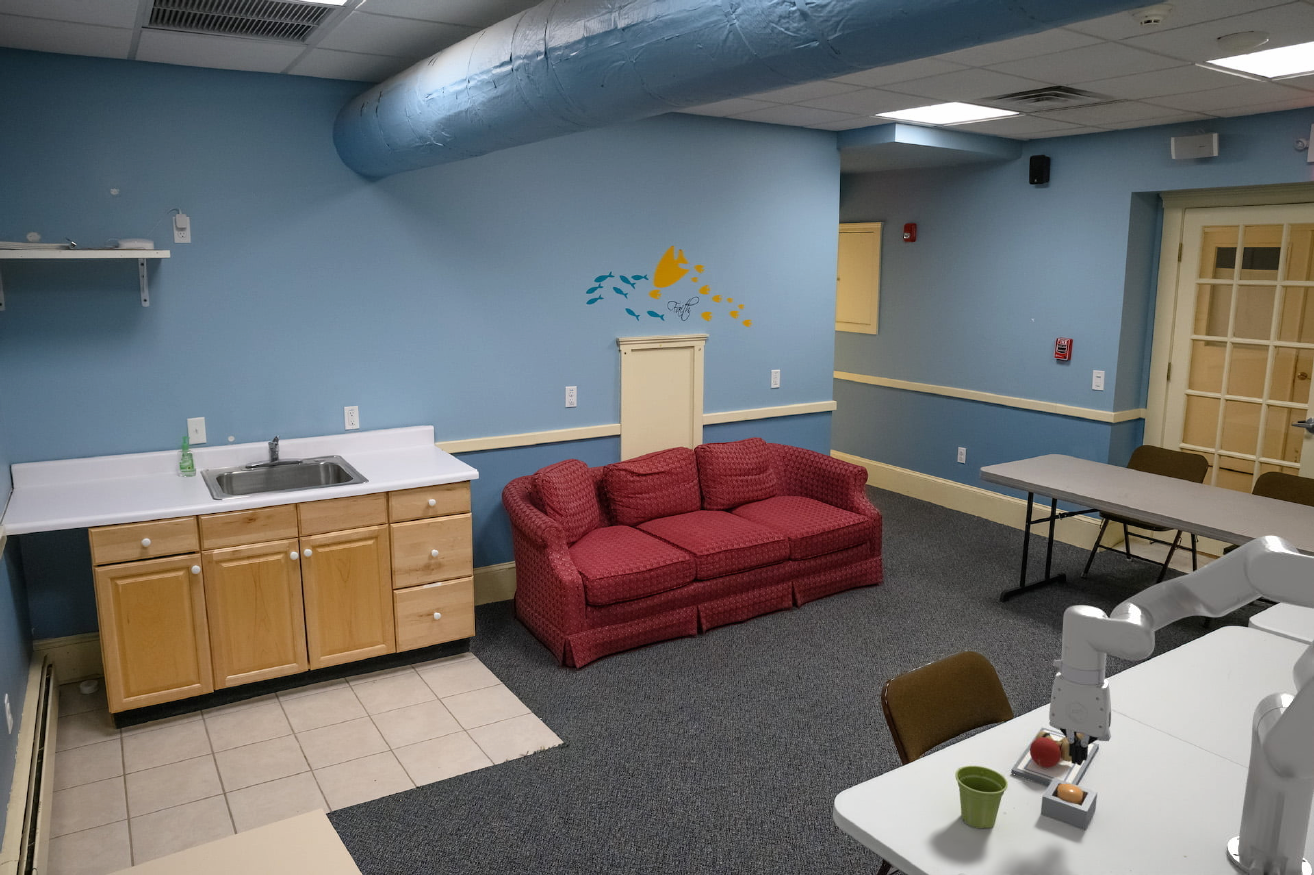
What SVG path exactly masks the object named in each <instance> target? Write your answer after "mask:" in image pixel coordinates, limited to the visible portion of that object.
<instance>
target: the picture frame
mask: <svg viewBox="0 0 1314 875" xmlns="http://www.w3.org/2000/svg"><path fill="white" fill-rule="evenodd" d="M1041 731H1044V732H1047V733H1049V734H1050V736H1051V737H1052V738H1053V739H1054V740H1055V741H1060V740H1061V739H1063V738H1064V737H1065V735H1064V734H1063V733H1062V732H1059V731H1056V730H1052V729H1049V728H1046V727H1041V728H1040V729H1039V731H1038V732H1037V734H1036V735H1035V736H1034V738H1033V739H1032V741H1031V742H1030V743H1029V745H1028V746H1027V747H1026V749H1025V750H1024V752H1023V753H1022V754H1021V756H1020V757H1019V758H1018V760H1016V762H1015V764H1014V765H1013V767H1012V768H1011V771H1010V773H1012V774H1011V775H1013V774H1015V776H1016V775H1017V777H1019V776H1020V778H1022V777H1024V778H1023V779H1025V778H1026V779H1025V780H1028V779H1029V781H1031V780H1032V782H1034V783H1038V784H1041V785H1043V786H1046V787H1048V786H1049V785H1050V783H1051V782H1052V780H1053V779H1054V778H1056V779H1059V780H1062V781H1065V782H1068V783H1071V784H1074V785H1077V786H1079V783H1080V782H1081V780H1082V779H1083V777H1084V775H1085V773H1086V771H1087V770H1088V768H1089V766H1090V764H1091V763H1092V761H1093V760H1094V757H1095V756H1096V754H1097V752H1098V750H1099V748H1100V744H1099V743H1096V742H1093V743H1091V744H1089V745H1088V757H1087V760H1086V761H1085V760H1084V761H1083V762H1082V764H1081V766H1080V765H1077V764H1073V763H1071V761H1070V762H1067V761H1064V760H1063V759H1062V758H1060V761H1059V762H1058V763H1057V764H1056V765H1055V766H1053V767H1049V768H1043V767H1041V766H1039V765H1038V764H1036V763H1035V762H1034V761H1033V759H1032V757H1031V755H1030V746H1031V744H1032V742H1033V741H1034V740H1036V737H1037V735H1038V733H1039V732H1041Z"/></svg>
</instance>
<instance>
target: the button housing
mask: <svg viewBox="0 0 1314 875" xmlns="http://www.w3.org/2000/svg"><path fill="white" fill-rule="evenodd" d="M1060 784H1071V783H1068V782H1065V781H1062V780H1059V779H1056V778H1054V779H1053V780H1052V782H1051V783H1050V785H1049V786H1047V788H1046V790H1045V791H1044V793H1043V795H1042V797H1041V806H1040V808H1041V809H1040V816H1043V817H1046V818H1049V819H1052V820H1054V821H1057V822H1059V823H1062V824H1065V825H1069V826H1071V827H1074V828H1076V829H1080V830H1082V831H1086V830H1087V828H1088V825H1089V824H1090V822H1091V820H1092V818H1093V816H1094V814H1095V813H1096V809H1097V808H1096V807H1097V801H1098V800H1097V799H1098V798H1097V797H1098V791H1095V790H1092V789H1090V788H1087V787H1083V786H1080V785H1075V786H1077V787H1079V788H1080V789H1081V790H1082V791H1083V797H1082V805H1078V804H1075V803H1072V802H1069V801H1066V800H1063V799H1060V798H1057V792H1058V786H1059V785H1060ZM1072 785H1074V784H1072Z"/></svg>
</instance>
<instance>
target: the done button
mask: <svg viewBox="0 0 1314 875" xmlns="http://www.w3.org/2000/svg"><path fill="white" fill-rule="evenodd" d="M1077 786H1078V785H1077ZM1077 786H1075V785H1072V784H1060V785H1059V786H1058V792H1057V798H1060V799H1063V800H1066V801H1069V802H1072V803H1075V804H1078V805H1082V797H1083V791H1082V790H1081V789H1080V788H1079V787H1077Z"/></svg>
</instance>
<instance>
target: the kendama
mask: <svg viewBox="0 0 1314 875" xmlns="http://www.w3.org/2000/svg"><path fill="white" fill-rule="evenodd" d="M1038 732H1039V731H1038ZM1038 732H1037V733H1038ZM1077 734H1078V737H1079V738H1080V739H1079V740H1081V739H1082V735H1083V734H1081V733H1077ZM1036 735H1037V734H1036ZM1031 742H1032V741H1031ZM1030 755H1031V757H1032V759H1033V761H1034V762H1035V763H1036V764H1038V765H1039V766H1041V767H1043V768H1049V767H1053V766H1055V765H1056V764H1057V763H1058V762H1059V761H1060V758H1062V759H1063V760H1064V761H1067V762H1070V761H1072V757H1071V756H1069V742H1068V741H1067V738H1066V737H1064V738H1063V739H1061V740H1060V741H1055V740H1054V739H1053V738H1052V737H1051V736H1050V734H1049V733H1047V732H1044V731H1041V732H1039V733H1038V735H1037V737H1036V740H1034V741H1033V742H1032V744H1031V746H1030Z"/></svg>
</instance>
